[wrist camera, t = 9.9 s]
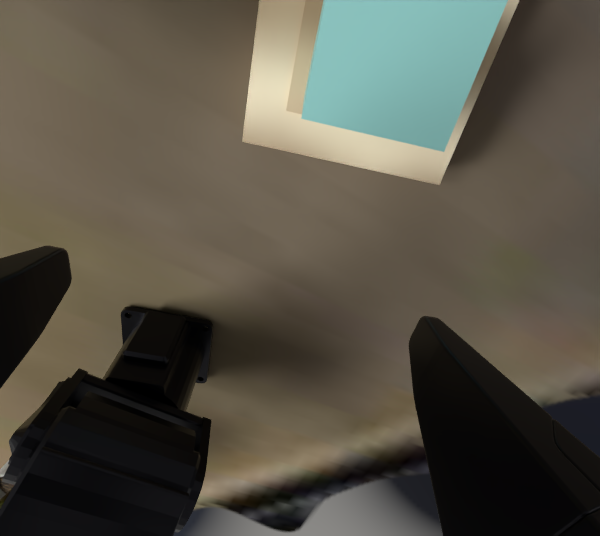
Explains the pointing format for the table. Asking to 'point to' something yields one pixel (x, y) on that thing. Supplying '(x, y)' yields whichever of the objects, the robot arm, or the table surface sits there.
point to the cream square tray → (320, 137)
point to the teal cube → (398, 65)
